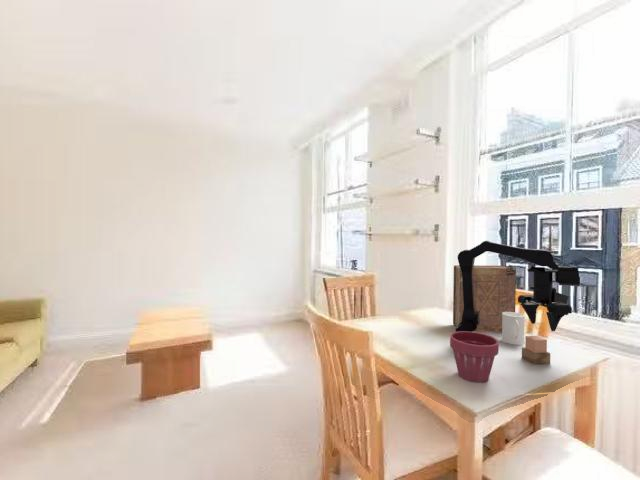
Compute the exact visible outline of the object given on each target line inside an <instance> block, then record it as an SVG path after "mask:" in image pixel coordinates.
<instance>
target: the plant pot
mask: <svg viewBox="0 0 640 480" xmlns="http://www.w3.org/2000/svg"><path fill="white" fill-rule="evenodd" d="M449 336H450V337H449V338H450V340H449V346H450V348H451V349H452V350H453V356H454V359H455V361H454V362H455V365H456V369H457V375H458V376H459V377H461V378H462V379H463V380H465V381H468V382H471V383H472V382H473V383H486V382H488V381H489V379H490V375H491V371H492V369H493V364H494V361H495V357H496V356H498V354H499V350H500V349H499V347H500V346H499V345H500V344H499V341H498V339H497V338H495V337H493V336H491V335H489V334H486V333H481V332H479V331H472V332H470V331H459V332H456V331H454V332H452V333H450V335H449Z"/></svg>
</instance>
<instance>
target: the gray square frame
mask: <svg viewBox="0 0 640 480" xmlns="http://www.w3.org/2000/svg"><path fill="white" fill-rule="evenodd" d="M520 359H521V360H522V361H525V360H524V359H522V357H521V358H520ZM525 362H526V363H529V362H527V361H525ZM529 364H531V363H529ZM531 365H532V366H535V367H537V366H538V367H539V366H541V365H533V364H531ZM549 366H552V364H551V363H550V365H549Z"/></svg>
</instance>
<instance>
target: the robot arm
mask: <svg viewBox="0 0 640 480" xmlns="http://www.w3.org/2000/svg"><path fill="white" fill-rule="evenodd" d="M486 252H489V253H494V254H500V255H505V256H508V257H513V258H518V259H521V260H525V261H526V262H530V263H532V264H531V266H530V267H528V268H527V272H529V273H533V274H532V275H533V277H532V279H533V280H532V281H533V283H532V284H533V285H532V286H531V285H530V290H533V291H532V293H533V294H519V296H518V297H517V303H520V306H521V307H522V308H523V310H524V312H525V313H526V315H527V318H528V319H529V321H530V322H531V324H536V322H537V309H538V308H539V307H540V306H541V307H544V308H546V310H547V311H546V316H547V321H548V324H549V329H550V331H551V332H555V331H556V330H557V327H558V325H559V323H560V321H561V319H562V318H563V317H564V316H568V315H569V314H572V313H573V312H572V311H573V307H572V306H571V305H570V304H568V301H569V298H570V296H568V295H566V294H563V293H560V292H557V289H556V287H553V281H554V282H555V283H557V284H558V286H563V287H564V286H565V287H566V286H567V287H580V284H581V277H580V272H579V266H574V265H572V266H559V264H558V263H556V262H555V261H554V256H553V254H552V252H550V251H549V250H547V249H545V248H544V249H541V248H523V247H518V246H513V245H507V244H502V243H497V242H493V241H489V240H483V241H482V242H481V243H480V244H477V245H476V246H474V247H472V248H471V249H463V250H461V251H460V252H459V253H458V254H457V262H458V265H459V266H460V269H461V272H462V283H463V301H464V309H463V315H462V321H461V322H460V323H459V324H458V326H456V327H455V332H459V331H470V332H476V331H475V330H476V328H477V326H478V325H479V323H480V318H479V314H480V311H476V309H475V306H474V290H473V267H474V266H475V261H476V258H478V257H479V256H481V255H483V254H485V253H486ZM535 265H537V266H535ZM545 267H547V268H548V269H546V268H545ZM553 274H554V275H553ZM553 277H554V280H553Z"/></svg>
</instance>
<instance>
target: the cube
mask: <svg viewBox="0 0 640 480" xmlns="http://www.w3.org/2000/svg"><path fill="white" fill-rule="evenodd" d="M524 341H525V347H524V348H526V349H528V350H530V351H532V352H534V353H546V352H548V351H547V349H548V345H547V344H548V340H547V339H546V338H543V337H542V336H539V335H524Z"/></svg>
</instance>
